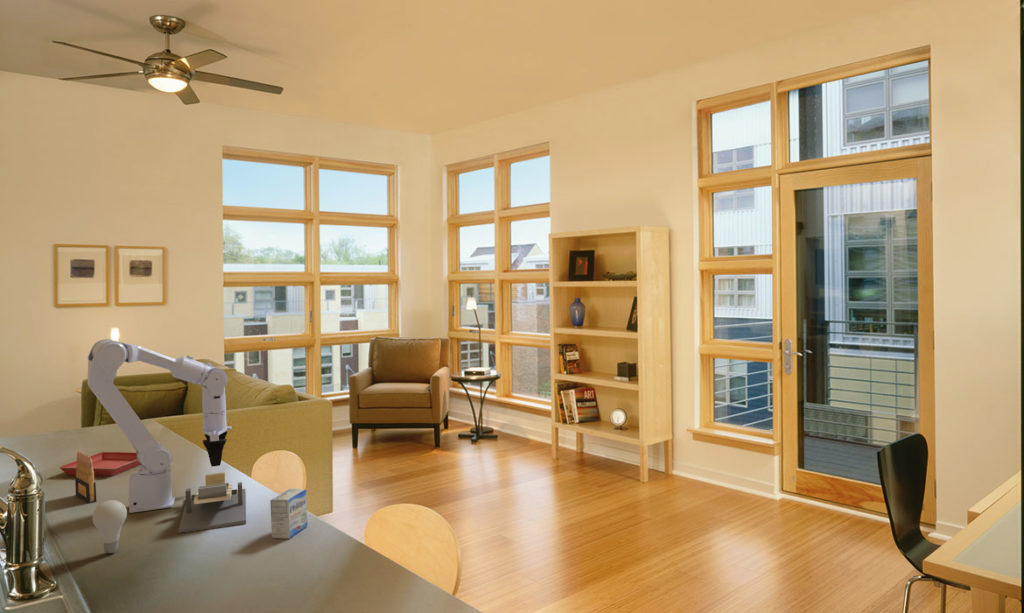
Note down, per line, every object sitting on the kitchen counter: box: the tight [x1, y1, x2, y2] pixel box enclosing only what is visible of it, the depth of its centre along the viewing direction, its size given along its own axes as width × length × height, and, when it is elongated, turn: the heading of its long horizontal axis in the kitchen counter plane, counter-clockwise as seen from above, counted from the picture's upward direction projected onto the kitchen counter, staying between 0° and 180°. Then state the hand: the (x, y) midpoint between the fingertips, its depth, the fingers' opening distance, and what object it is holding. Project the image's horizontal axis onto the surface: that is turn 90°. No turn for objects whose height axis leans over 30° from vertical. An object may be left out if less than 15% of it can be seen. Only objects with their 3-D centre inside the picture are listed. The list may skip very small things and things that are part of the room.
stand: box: [178, 481, 247, 534], centre depth 160 cm, size 26×14×6 cm, turn 23°
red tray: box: [59, 451, 142, 477], centre depth 200 cm, size 18×18×3 cm
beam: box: [191, 482, 238, 504], centre depth 160 cm, size 23×10×3 cm, turn 22°
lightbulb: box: [91, 499, 128, 555], centre depth 135 cm, size 6×6×11 cm
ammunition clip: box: [74, 450, 97, 504], centre depth 171 cm, size 11×2×12 cm, turn 49°
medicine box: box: [269, 488, 308, 540], centre depth 145 cm, size 8×4×9 cm, turn 168°
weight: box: [204, 471, 226, 486], centre depth 166 cm, size 4×4×4 cm
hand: (216, 462), depth 174 cm, fingers open, 7 cm apart
